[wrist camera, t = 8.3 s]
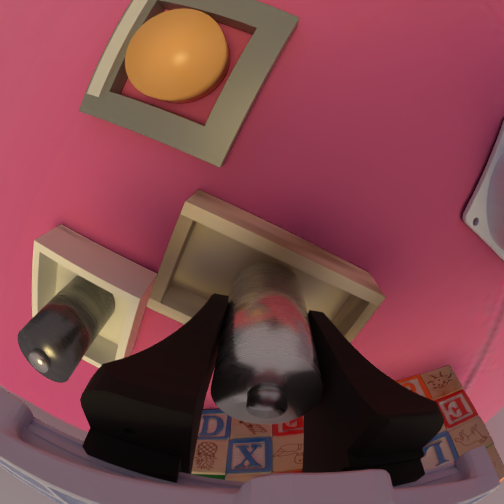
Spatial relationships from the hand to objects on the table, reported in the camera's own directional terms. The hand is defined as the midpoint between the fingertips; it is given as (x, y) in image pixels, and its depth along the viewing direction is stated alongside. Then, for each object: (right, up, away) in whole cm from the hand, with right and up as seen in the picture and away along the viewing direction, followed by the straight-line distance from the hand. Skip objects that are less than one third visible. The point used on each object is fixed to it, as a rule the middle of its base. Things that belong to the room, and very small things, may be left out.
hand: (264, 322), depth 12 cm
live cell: (0, +1, +2) cm, 2 cm away
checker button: (-4, +12, -1) cm, 13 cm away
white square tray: (-11, 0, +5) cm, 12 cm away
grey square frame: (-4, +12, -1) cm, 13 cm away
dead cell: (-11, 0, +4) cm, 11 cm away
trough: (0, +2, +4) cm, 4 cm away
